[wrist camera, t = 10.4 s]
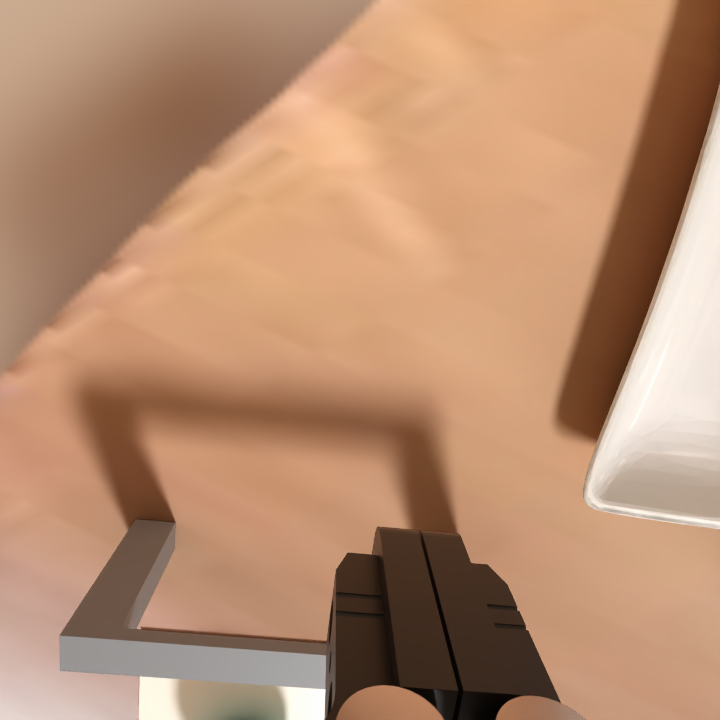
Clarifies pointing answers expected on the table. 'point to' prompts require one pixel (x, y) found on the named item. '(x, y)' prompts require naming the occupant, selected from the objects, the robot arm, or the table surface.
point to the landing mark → (226, 701)
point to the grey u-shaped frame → (170, 649)
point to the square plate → (672, 378)
